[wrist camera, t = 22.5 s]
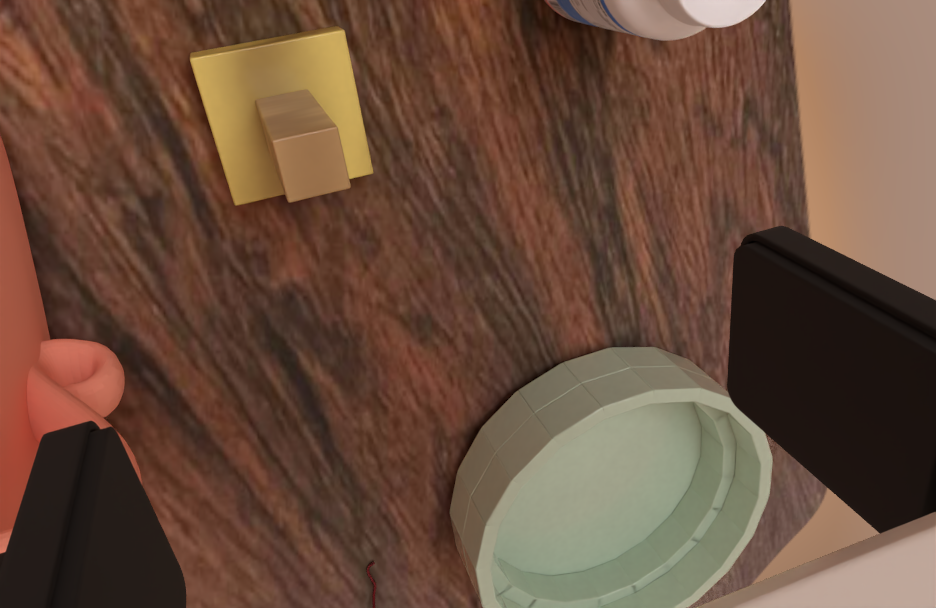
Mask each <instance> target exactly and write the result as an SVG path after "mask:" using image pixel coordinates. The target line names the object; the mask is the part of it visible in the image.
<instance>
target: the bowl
mask: <svg viewBox="0 0 936 608" xmlns="http://www.w3.org/2000/svg"><path fill="white" fill-rule="evenodd" d="M772 463H773V457H772V454H771V451H770V448H769V444H768V441H767V438H766V435H765V432H764V431H763V430H761V429H760V428H759V427H758V426H757V425H756V424H755V423H753V422H752V421H751V420H750V419H749V418H748V417H747V416H745V415H744V414H743V413H742V412H741V411H740V410H739V409H738V408H737V407H736V406H735V405H734V404H733V402H732V401H731V398H730V396H729V393H728V392H727V391H726V390H725V389H724V388H723V387H722V386H720V385H719V384H718V383H717V382H716V381H714V380H713V379H712V378H711V377H710V376H708V375H707V374H706V373H705V372H704V371H702V370H701V369H700V368H699V367H698V366H697V365H695V364H694V363H693V362H692V361H690V360H689V359H686V358H683V357H681V356H678V355H675V354H673V353H670V352H667V351H664V350H662V349H659V348H656V347H611V348H606V349H603V350H600V351H597V352H593V353H590V354H587V355H584V356H581V357H578V358H574V359H571V360H568V361H565V362H563V363H560V364H559V365H557V366H556V367H554V368H552V369H551V370H549V371H548V372H546V373H544V374H543V375H541V376H540V377H538V378H537V379H535V380H533V381H532V382H530V383H529V384H527V385H525V386H524V387H522V388H521V389H519V390H518V391H516V392H515V393H514V394H513V395H512V396H511V397H510V398H509V399H508V400H507V401H506V402H505V403H504V404H503V405H502V407H501V408H500V409H499V410H498V411H497V412H496V413H495V414H494V415H493V416H492V417H491V418H490V419H489V420H488V421H487V422H486V423H485V424H484V425H483V426H482V427H481V429H480V431H479V432H478V434H477V436H476V438H475V440H474V441H473V443H472V445H471V447H470V449H469V450H468V452H467V454H466V456H465V458H464V460H463V461H462V463H461V465H460V467H459V469H458V471H457V476H456V481H455V486H454V491H453V496H452V502H451V507H450V518H451V523H452V528H453V533H454V538H455V543H456V548H457V550H458V552H459V555H460V557H461V559H462V562H463V564H464V566H465V568H466V571H467V573H468V575H469V577H470V580H471V582H472V584H473V587H474V589H475V591H476V593H477V596H478V598H479V600H480V603H481V605H482V607H483V608H687V607H689V606H690V605H692V604H693V603H695V602H696V601H698V600H699V599H700V598H701V597H702V596H703V595H704V594H705V593H706V592H707V591H708V590H709V589H710V588H711V587H712V586H713V585H714V584H715V583H716V582H717V581H718V580H719V579H720V578H722V577H723V576H724V575H725V574H726V573H727V572H728V570H730V568H731V567H732V565H733V564H734V562H735V561H736V560H737V558H738V557H739V555H740V554H741V552H742V551H743V550H744V548H745V547H746V545H747V544H748V543H749V541H750V540H751V538H752V537H753V535H754V533H755V530H756V528H757V526H758V523H759V521H760V518H761V516H762V513H763V511H764V508H765V506H766V503H767V501H768V498H769V495H770V485H771V474H772Z"/></svg>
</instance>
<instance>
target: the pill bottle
mask: <svg viewBox="0 0 936 608" xmlns="http://www.w3.org/2000/svg"><path fill="white" fill-rule="evenodd" d="M544 1H545V2H546V3H547V4H548V5H549V6H550V7H551V8H552V9H553V10H554V11H555V12H557V13H558V14H560V15H561V16H563V17H565V18H567V19H569V20H572V21H575V22H579V23H583V24H587V25H592V26H596V27H601V28H605V29H609V30H614V31H618V32H623V33H628V34H632V35H636V36H641V37H645V38H651V39H656V40H677V39H682V38H686V37H689V36H692V35H694V34H696V33H698V32H700V31H702V30H704V29H705V28H706V27H711V28H722V27H728V26H732V25H735V24H737V23H740V22H741V21H743V20H745V19H746V18H748V17H749V16H751V15H752V14H753V13H754V12H756V11H757V10H758V9H759V8H760V7H761V6H762V5H763V3H764V2H765V1H766V0H544Z"/></svg>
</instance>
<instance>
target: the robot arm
mask: <svg viewBox="0 0 936 608" xmlns="http://www.w3.org/2000/svg"><path fill="white" fill-rule="evenodd" d="M727 387H728V393H729V396H730V398H731V401H732V402H733V404H734V405H735V406H736V407H737V408H738V409H739V410H740V411H741V412H742V413H743V414H744V415H745V416H747V417H748V418H749V419H750V420H751V421H752V422H753V423H755V424H756V425H757V426H758V427H759V428H760V429H761V430H763V431H764V432H765V433H766V434H767V435H768V436H769V437H771V438H772V439H773V440H774V441H775V442H776V443H777V444H779V445H780V446H781V447H782V448H783V449H784V450H785V451H787V452H788V453H789V454H790V455H791V456H792V457H793V458H795V459H796V460H797V461H798V462H799V463H800V464H801V465H803V466H804V467H805V468H806V469H807V470H808V471H809V472H811V473H812V474H813V475H814V476H815V477H816V478H817V479H819V480H820V481H821V482H822V483H823V484H824V485H825V486H826V487H828V488H829V489H830V490H831V491H832V492H833V493H834V494H836V495H837V496H838V497H839V498H840V499H841V500H843V501H844V502H845V503H846V504H847V505H848V506H850V507H851V508H852V509H853V510H854V511H855V512H856V513H857V514H859V515H860V516H861V517H862V518H863V519H864V520H865V521H866V522H868V523H869V524H870V525H871V526H872V527H873V528H875V529H876V530H877V531H878V532H879V533H880V534H878V535H875V536H873V537H871V538H868V539H866V540H863V541H860V542H858V543H855V544H853V545H850V546H848V547H845V548H843V549H840V550H838V551H835V552H833V553H830V554H828V555H825V556H822V557H820V558H817V559H815V560H812V561H810V562H807V563H805V564H802V565H800V566H797V567H795V568H792V569H790V570H787V571H785V572H783V573H780V574H778V575H775V576H773V577H770V578H768V579H765V580H763V581H760V582H758V583H755V584H753V585H750V586H748V587H745V588H743V589H740V590H738V591H735V592H733V593H730V594H728V595H725V596H723V597H720V598H718V599H715V600H713V601H710V602H708V603H705V604H703V605H700V606H698V607H695V608H936V300H934V299H932V298H930V297H928V296H926V295H924V294H922V293H920V292H918V291H915V290H914V289H911V288H909V287H907V286H905V285H903V284H901V283H899V282H897V281H895V280H893V279H891V278H889V277H887V276H885V275H883V274H881V273H879V272H877V271H875V270H873V269H871V268H869V267H867V266H865V265H863V264H861V263H859V262H857V261H855V260H853V259H851V258H848V257H846V256H845V255H843V254H840V253H838V252H836V251H835V250H833V249H830V248H828V247H826V246H824V245H822V244H820V243H818V242H816V241H814V240H812V239H810V238H808V237H806V236H804V235H802V234H800V233H798V232H796V231H794V230H792V229H790V228H788V227H784V226H778V227H774V228H771V229H767V230H763V231H760V232H756V233H753V234H749V235H747V236H746V237H745V238H744V239H743V241H742V243H741V246H740V247H739V248H737V249H736V251H735V254H734V263H733V283H732V302H731V322H730V342H729V362H728V381H727ZM0 608H186V587H185V581H184V577H183V573H182V570H181V568H180V565H179V563H178V561H177V559H176V557H175V555H174V553H173V550H172V548H171V546H170V544H169V542H168V540H167V538H166V535H165V533H164V531H163V529H162V527H161V525H160V523H159V520H158V518H157V516H156V514H155V512H154V510H153V508H152V505H151V503H150V501H149V499H148V497H147V495H146V493H145V490H144V488H143V486H142V484H141V482H140V480H139V478H138V475H137V473H136V471H135V469H134V467H133V465H132V463H131V461H130V458H129V456H128V454H127V452H126V450H125V448H124V446H123V443H122V441H121V439H120V437H119V435H118V433H117V431H116V430H115V429H114V428H113V427H111V426H110V427H107V428H103V429H100V428H99V426H98V425H97V424H96V423H95V422H93V421H87V422H84V423H80V424H77V425H73V426H70V427H66V428H63V429H59V430H56V431H52V432H48V433H46V434H44V435H43V437H42V438H41V441H40V444H39V447H38V450H37V454H36V457H35V460H34V463H33V466H32V469H31V473H30V476H29V479H28V482H27V485H26V489H25V492H24V495H23V498H22V501H21V504H20V508H19V511H18V514H17V517H16V520H15V523H14V527H13V530H12V533H11V536H10V539H9V543H8V546H7V549H6V552H4V553H0Z"/></svg>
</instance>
